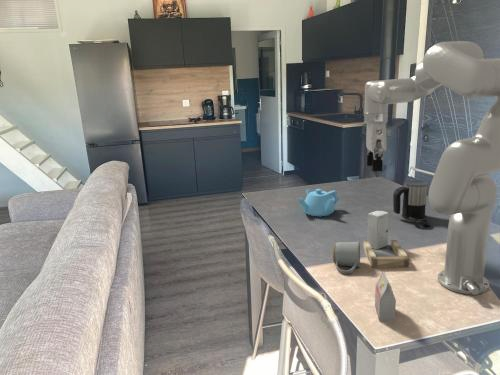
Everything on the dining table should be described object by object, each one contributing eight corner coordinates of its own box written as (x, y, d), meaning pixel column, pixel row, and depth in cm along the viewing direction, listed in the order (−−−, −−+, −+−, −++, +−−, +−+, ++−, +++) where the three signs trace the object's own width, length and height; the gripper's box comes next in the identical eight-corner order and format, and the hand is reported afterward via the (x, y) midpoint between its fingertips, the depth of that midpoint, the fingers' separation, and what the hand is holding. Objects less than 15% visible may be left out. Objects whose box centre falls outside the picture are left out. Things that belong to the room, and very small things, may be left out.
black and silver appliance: (412, 211, 165) (413, 178, 161) (445, 222, 152) (448, 186, 148) (388, 218, 158) (390, 184, 155) (421, 230, 145) (424, 192, 141)
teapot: (332, 220, 161) (332, 195, 158) (297, 217, 167) (297, 193, 164) (339, 208, 175) (339, 185, 172) (306, 206, 180) (306, 184, 178)
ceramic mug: (334, 258, 127) (334, 236, 125) (360, 260, 125) (360, 238, 122) (331, 274, 117) (331, 251, 115) (359, 276, 115) (359, 253, 113)
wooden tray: (408, 267, 118) (409, 258, 117) (372, 267, 119) (372, 259, 118) (395, 248, 132) (396, 240, 131) (362, 248, 132) (363, 240, 132)
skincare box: (376, 250, 131) (378, 216, 128) (366, 245, 135) (367, 213, 131) (388, 245, 134) (389, 212, 131) (378, 241, 138) (379, 209, 135)
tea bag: (389, 306, 99) (391, 271, 96) (394, 321, 93) (396, 284, 90) (374, 305, 100) (376, 270, 97) (378, 321, 93) (380, 284, 91)
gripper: (394, 120, 122) (392, 173, 126) (380, 115, 138) (379, 162, 143) (370, 121, 122) (368, 174, 127) (359, 116, 139) (358, 163, 144)
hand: (374, 168), depth 135 cm, fingers open, 7 cm apart
